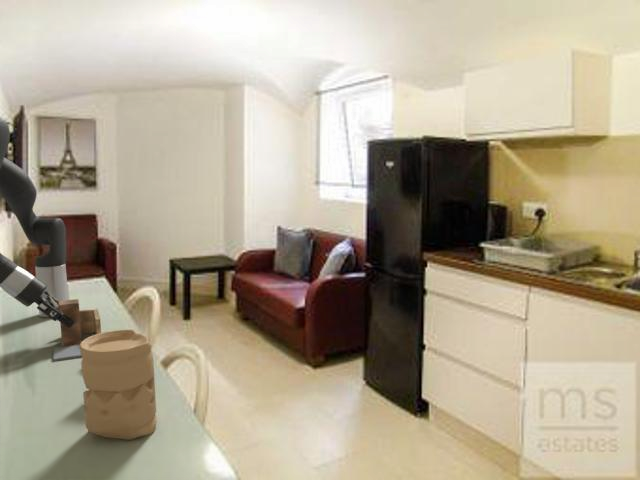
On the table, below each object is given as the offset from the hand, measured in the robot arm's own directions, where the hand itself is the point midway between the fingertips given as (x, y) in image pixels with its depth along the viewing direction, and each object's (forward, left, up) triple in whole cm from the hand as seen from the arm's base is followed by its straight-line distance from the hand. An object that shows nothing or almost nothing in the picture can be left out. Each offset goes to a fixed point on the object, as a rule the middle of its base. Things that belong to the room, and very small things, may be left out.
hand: (72, 321), depth 148 cm
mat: (+8, +4, -6) cm, 11 cm away
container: (+48, +37, -7) cm, 61 cm away
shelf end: (-4, +1, -6) cm, 7 cm away
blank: (0, 0, -6) cm, 6 cm away
